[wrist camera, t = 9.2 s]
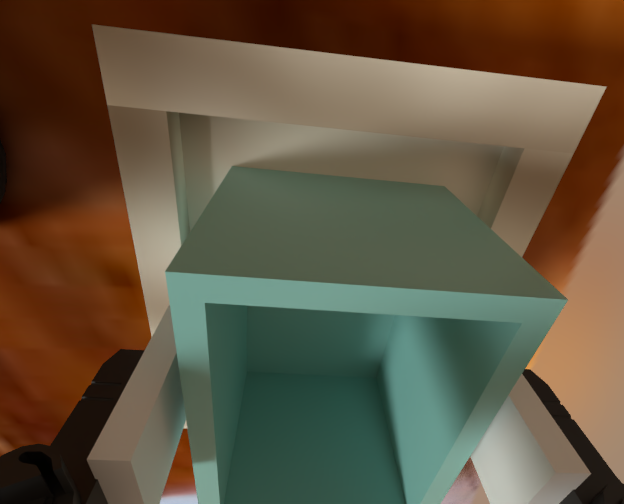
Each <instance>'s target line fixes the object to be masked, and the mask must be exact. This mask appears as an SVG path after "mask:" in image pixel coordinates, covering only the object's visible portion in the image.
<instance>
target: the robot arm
mask: <svg viewBox="0 0 624 504" xmlns="http://www.w3.org/2000/svg"><path fill="white" fill-rule="evenodd" d="M185 421H186V414H185V407H184V400H183V393H182V386H181V380H180V373H179V366H178V359H177V352H176V345H175V338H174V331H173V324H172V317H171V310H170V304H169V306H168V308H167V310H166V312H165V314H164V315H163V317H162V319H161V321H160V323H159V325H158V327H157V329H156V330H155V332H154V334H153V336H152V338H151V340H150V342H149V344H148V345H147V347H146V349H145V351H144V350H125V349H120V350H119V351H118V352H117V353H116V354H114V355H113V356H112V357H111V358H110V359H108V360H107V361H106V362H105V363H104V364H103V365H102V366H101V368H100V370H99V371H98V373H97V374H96V376H95V377H94V379H93V380H92V384H91V385H89V387H88V388H87V390H86V391H85V393H84V394H83V396H82V399H81V401H79V402H78V404H77V405H76V407H75V408H74V410H73V411H72V413H71V414H70V416H69V418H68V419H67V421H66V422H65V424H64V425H63V427H62V428H61V430H60V432H59V433H58V435H57V436H56V438H55V439H54V441H53V442H52V444H51V445H50V446H47V445H43V444H35V445H28V446H22V447H20V448H18V449H15V450H13V451H11V452H8V453H6V454H4V455H2V456H1V457H0V504H159V503H160V500H161V496H162V493H163V490H164V487H165V484H166V481H167V478H168V474H169V471H170V468H171V465H172V462H173V459H174V456H175V453H176V449H177V446H178V443H179V440H180V437H181V434H182V431H183V427H184V424H185ZM470 457H471V459H472V461H473V464H474V466H475V469H476V471H477V473H478V476H479V478H480V481H481V483H482V485H483V487H484V490H485V492H486V495H487V497H488V499H489V502H490V504H624V484H622V483H621V481H620V480H619V479H618V478H617V477H616V476H615V474H614V473H613V472H612V470H611V469H610V468H609V467H608V465H607V464H606V462H605V461H604V460H603V458H602V457H601V456H600V454H599V453H598V452H597V450H596V449H595V448H594V446H593V445H592V444H591V442H590V441H589V440H588V438H587V437H586V435H585V434H584V433H583V431H582V430H581V429H580V427H579V426H578V425H577V423H576V422H575V421H574V420H572V419H571V416H570V414H569V413H568V411H567V410H566V409H565V407H564V406H563V405H561V404H560V401H559V400H558V398H557V397H556V395H555V394H554V393H553V391H552V390H551V389H550V387H549V386H548V385H547V384H546V383H545V382H544V381H543V380H542V379H540V378H539V377H538V376H537V375H536V374H535V373H534V372H532V371H531V370H529V369H524V371H523V373H522V374H521V376H520V377H519V379H518V381H517V382H516V384H515V385H514V387H513V389H512V390H511V392H510V393H509V395H508V397H507V398H506V400H505V401H504V403H503V405H502V406H501V408H500V409H499V411H498V413H497V414H496V416H495V417H494V419H493V420H492V422H491V424H490V425H489V427H488V428H487V430H486V432H485V433H484V435H483V436H482V438H481V440H480V441H479V443H478V444H477V446H476V448H475V449H474V451H473V452H472V454H471V456H470Z"/></svg>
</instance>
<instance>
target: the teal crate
mask: <svg viewBox="0 0 624 504" xmlns="http://www.w3.org/2000/svg"><path fill="white" fill-rule="evenodd" d="M165 275H166V282H167V289H168V296H169V303H170V310H171V317H172V324H173V331H174V338H175V345H176V352H177V359H178V366H179V373H180V380H181V386H182V393H183V400H184V407H185V414H186V421H187V428H188V435H189V442H190V449H191V456H192V463H193V470H194V477H195V484H196V491H197V498H198V504H440V503H441V502H442V500H443V499H444V497H445V495H446V494H447V492H448V491H449V489H450V487H451V486H452V484H453V483H454V481H455V479H456V478H457V476H458V475H459V473H460V471H461V470H462V468H463V467H464V465H465V464H466V462H467V460H468V459H469V457H470V456H471V454H472V452H473V451H474V449H475V448H476V446H477V444H478V443H479V441H480V440H481V438H482V436H483V435H484V433H485V432H486V430H487V428H488V427H489V425H490V424H491V422H492V420H493V419H494V417H495V416H496V414H497V413H498V411H499V409H500V408H501V406H502V405H503V403H504V401H505V400H506V398H507V397H508V395H509V393H510V392H511V390H512V389H513V387H514V385H515V384H516V382H517V381H518V379H519V377H520V376H521V374H522V373H523V371H524V369H525V368H526V366H527V365H528V363H529V361H530V360H531V358H532V357H533V355H534V354H535V352H536V350H537V349H538V347H539V346H540V344H541V342H542V341H543V339H544V338H545V336H546V334H547V333H548V331H549V330H550V328H551V326H552V325H553V323H554V322H555V320H556V318H557V317H558V315H559V314H560V312H561V310H562V309H563V307H564V306H565V304H566V303H567V301H568V299H567V298H566V297H564V296H563V295H562V294H561V293H560V292H559V291H558V290H557V289H556V288H555V287H554V286H552V285H551V284H550V283H549V282H548V281H547V280H546V279H545V278H544V277H543V276H542V275H540V274H539V273H538V272H537V271H536V270H535V269H534V268H533V267H532V266H531V265H530V264H529V263H527V262H526V261H525V260H524V259H523V258H522V257H521V256H520V255H519V254H518V253H517V252H515V251H514V250H513V249H512V248H511V247H510V246H509V245H508V244H507V243H506V242H505V241H503V240H502V239H501V238H500V237H499V236H498V235H497V234H496V233H495V232H494V231H493V230H492V229H490V228H489V227H488V226H487V225H486V224H485V223H484V222H483V221H482V220H481V219H480V218H478V217H477V216H476V215H475V214H474V213H473V212H472V211H471V210H470V209H469V208H468V207H466V206H465V205H464V204H463V203H462V202H461V201H460V200H459V199H458V198H457V197H456V196H455V195H453V194H452V193H451V192H450V191H449V190H448V189H447V188H446V187H445V186H438V185H427V184H417V183H406V182H396V181H385V180H374V179H364V178H353V177H343V176H332V175H322V174H311V173H301V172H290V171H279V170H269V169H258V168H248V167H237V166H232V167H231V168H230V170H229V171H228V173H227V175H226V176H225V178H224V179H223V181H222V183H221V184H220V186H219V187H218V189H217V190H216V192H215V194H214V195H213V197H212V198H211V200H210V201H209V203H208V205H207V206H206V208H205V209H204V211H203V212H202V214H201V216H200V217H199V219H198V220H197V222H196V223H195V225H194V227H193V228H192V230H191V231H190V233H189V235H188V236H187V238H186V239H185V241H184V242H183V244H182V246H181V247H180V249H179V250H178V252H177V253H176V255H175V257H174V258H173V260H172V261H171V263H170V264H169V266H168V268H167V269H166V271H165Z"/></svg>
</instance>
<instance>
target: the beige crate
mask: <svg viewBox="0 0 624 504" xmlns="http://www.w3.org/2000/svg"><path fill="white" fill-rule="evenodd" d="M92 29H93V34H94V39H95V44H96V49H97V55H98V60H99V65H100V70H101V75H102V81H103V86H104V91H105V96H106V101H107V107H108V112H109V117H110V122H111V127H112V133H113V138H114V143H115V148H116V153H117V159H118V164H119V169H120V174H121V179H122V185H123V190H124V195H125V200H126V205H127V211H128V216H129V221H130V226H131V231H132V237H133V242H134V247H135V252H136V257H137V263H138V268H139V273H140V278H141V283H142V288H143V294H144V299H145V304H146V309H147V314H148V320H149V325H150V330H151V335H152V336H153V334H154V332H155V330H156V329H157V327H158V325H159V323H160V321H161V319H162V317H163V315H164V314H165V312H166V310H167V308H168V306H169V304H170V303H169V296H168V289H167V282H166V275H165V271H166V269H167V268H168V266H169V264H170V263H171V261H172V260H173V258H174V257H175V255H176V253H177V252H178V250H179V249H180V247H181V246H182V244H183V242H184V241H185V239H186V238H187V236H188V235H189V233H190V231H191V230H192V228H193V227H194V225H195V223H196V222H197V220H198V219H199V217H200V216H201V214H202V212H203V211H204V209H205V208H206V206H207V205H208V203H209V201H210V200H211V198H212V197H213V195H214V194H215V192H216V190H217V189H218V187H219V186H220V184H221V183H222V181H223V179H224V178H225V176H226V175H227V173H228V171H229V170H230V168H231V167H232V166H237V167H248V168H258V169H269V170H279V171H290V172H301V173H311V174H322V175H332V176H343V177H353V178H364V179H374V180H385V181H396V182H406V183H417V184H427V185H438V186H445V187H446V188H447V189H448V190H449V191H450V192H451V193H452V194H453V195H455V196H456V197H457V198H458V199H459V200H460V201H461V202H462V203H463V204H464V205H465V206H466V207H468V208H469V209H470V210H471V211H472V212H473V213H474V214H475V215H476V216H477V217H478V218H480V219H481V220H482V221H483V222H484V223H485V224H486V225H487V226H488V227H489V228H490V229H492V230H493V231H494V232H495V233H496V234H497V235H498V236H499V237H500V238H501V239H502V240H503V241H505V242H506V243H507V244H508V245H509V246H510V247H511V248H512V249H513V250H514V251H515V252H517V253H518V254H519V255H520V256H521V257H523V255H524V253H525V250H526V248H527V246H528V244H529V242H530V240H531V238H532V236H533V234H534V232H535V230H536V228H537V226H538V224H539V222H540V220H541V218H542V216H543V214H544V212H545V210H546V208H547V206H548V204H549V202H550V200H551V198H552V196H553V194H554V192H555V190H556V188H557V186H558V184H559V182H560V180H561V178H562V176H563V174H564V172H565V170H566V168H567V166H568V164H569V162H570V160H571V158H572V156H573V154H574V152H575V150H576V148H577V146H578V144H579V142H580V140H581V138H582V136H583V134H584V132H585V130H586V128H587V125H588V123H589V121H590V119H591V117H592V115H593V113H594V111H595V109H596V107H597V105H598V103H599V101H600V99H601V97H602V95H603V93H604V91H605V89H606V87H605V86H597V85H589V84H581V83H572V82H564V81H556V80H548V79H539V78H531V77H523V76H515V75H507V74H499V73H490V72H482V71H474V70H466V69H457V68H449V67H441V66H432V65H424V64H416V63H408V62H399V61H391V60H383V59H375V58H366V57H358V56H350V55H342V54H333V53H325V52H317V51H309V50H300V49H292V48H284V47H275V46H267V45H259V44H251V43H242V42H234V41H226V40H218V39H209V38H201V37H193V36H185V35H176V34H168V33H160V32H151V31H143V30H134V29H126V28H118V27H110V26H101V25H93V24H92ZM183 428H187V421H185V424H184V427H183Z"/></svg>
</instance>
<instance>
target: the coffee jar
mask: <svg viewBox="0 0 624 504" xmlns="http://www.w3.org/2000/svg"><path fill="white" fill-rule="evenodd" d="M6 182H7V176H6V153H5V151H4V148H3V145H2V143H1V140H0V203H1V200H2V198H3V196H4V193H5V185H6Z"/></svg>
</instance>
